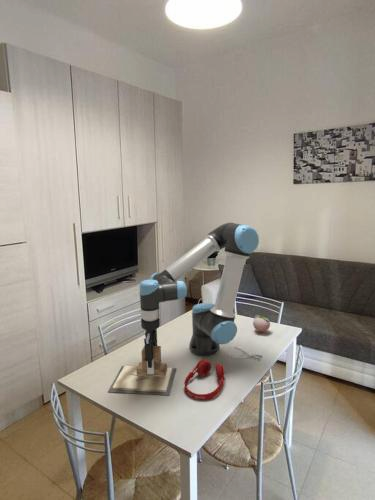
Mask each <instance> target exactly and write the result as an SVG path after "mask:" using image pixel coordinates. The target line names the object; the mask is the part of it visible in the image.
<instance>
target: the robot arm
mask: <svg viewBox="0 0 375 500" xmlns="http://www.w3.org/2000/svg"><path fill="white" fill-rule="evenodd" d="M259 244H260V238H259V233H258V231H257V230H256V229H255V228H254V227H252V226H250V225H247V224H240V223H235V222H226V223H222V224H221V225H219V226H218V227H216V228H215V229H213V230H211V231H210V232H209V233H207V234H206V235H205V239H203V240H202V241H201V242H199V243H198V244H197V245H195V246H194V247H192V248H191V249H190V250H189V251H187V252H186V253H185V254H183V255H182V256H180V257H179V258H178V259H177V260H176V261H174V262H173V263H171V264H170V265H169V266H168V267H166V268H165V269H164V270H163V271H161V272H155V273H153V274H151V276H150V277H149V279H145V280H142V281H141V282H140V283H139V293H138V294H139V303H140V305H139V306H140V309H139V313H140V318H141V319H140V323H141V324H140V326H141V329H143V330H145V332H144V333H145V334H144V337H145V338H144V339H143V342H144V345H145V361H147V374H154V359H153V346H158V328H159V327H160V326H161V325H160V324H161V323H160V322H161V321H160V320H161V319H160V314H161V313H160V303H165V302H172V301H177V300H182V299H184V298H185V297H186V296H187V294H188V290H187V289H188V287H187V285H186V283H185V282H184V281H183V280H180V279H182V278H183V277H184V276H185V275H186V274H188V273H189V272H191V271H192V270H193V269H195V268H196V267H197V266H198V265H199V264H200V263H202V262H204V261H205V260H206V259H207V258H208V257H210V256H211V255H212V254H214V253H215V252H220V251H221V250H223V249H224V251H223V252H224V253H225V256H226V258H225V261H224V265H223V271H222V273H221V274H222V275H221V276H220V277H221V278H220V282H219V287H218V291H217V294H216V299H215V303H212V302H201V303H197V304H194V305H193V307H191V308H192V309H191V310H192V311H191V315H192V316H191V318H192V319H191V321H192V324H191V325H192V335H191V338H190V341H189V345H188V346H189V351H190V352H191V353H192V354H193V355H197V356H204V357H207V356H212V355H216V354H217V353H218V352H219V351H220V347H221V346H220V345H226V344H228V343H230V342H231V341H233V340H234V338H236V336H237V333H238V327H237V325H236V323H235V319H236V314H235V311H234V309H235V306H236V305H235V304H236V300H237V297H238V296H237V295H238V292H239V288H240V283H241V280H242V275H243V271H244V268H245V263H246V260H248V259H249V258H250V257H251V254H252V253H253V252H254V251H255V250H257V248H258V246H259Z"/></svg>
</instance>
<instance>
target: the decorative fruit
mask: <svg viewBox="0 0 375 500" xmlns="http://www.w3.org/2000/svg"><path fill="white" fill-rule="evenodd" d="M253 317H254V319H253V321H252V325H253V328H254V329H255V330H256V331H258V332H260V333H264V332H266V331H268V330H269V328H270V326H271V321H270V320H269V318H267V317H265V316H263V315H255V316H253Z"/></svg>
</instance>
